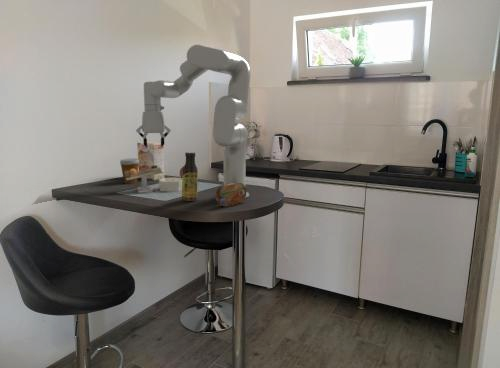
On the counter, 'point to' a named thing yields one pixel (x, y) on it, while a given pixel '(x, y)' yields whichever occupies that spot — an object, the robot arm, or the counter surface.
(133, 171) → the orange ball
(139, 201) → the counter surface
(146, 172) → the birch lever
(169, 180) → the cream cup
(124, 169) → the brown food tub
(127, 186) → the counter surface
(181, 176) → the onion
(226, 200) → the sandwich
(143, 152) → the coffeecake box
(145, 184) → the lever stand
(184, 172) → the sauce bottle
